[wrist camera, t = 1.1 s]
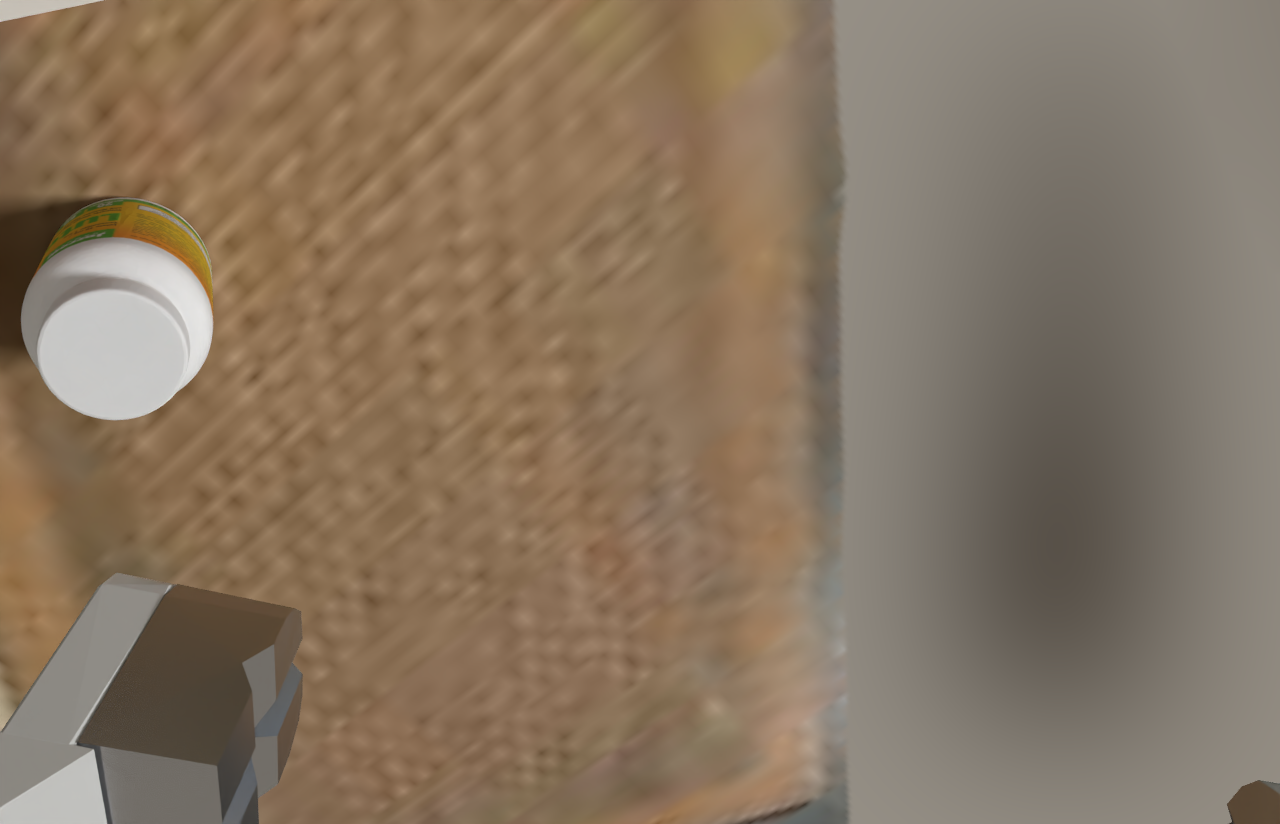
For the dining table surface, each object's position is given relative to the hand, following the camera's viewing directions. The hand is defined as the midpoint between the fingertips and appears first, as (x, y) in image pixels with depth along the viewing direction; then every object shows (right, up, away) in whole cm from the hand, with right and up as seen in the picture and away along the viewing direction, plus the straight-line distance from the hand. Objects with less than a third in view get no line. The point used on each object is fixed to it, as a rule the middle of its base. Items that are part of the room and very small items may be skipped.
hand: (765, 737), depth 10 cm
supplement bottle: (-19, +8, +31) cm, 37 cm away
